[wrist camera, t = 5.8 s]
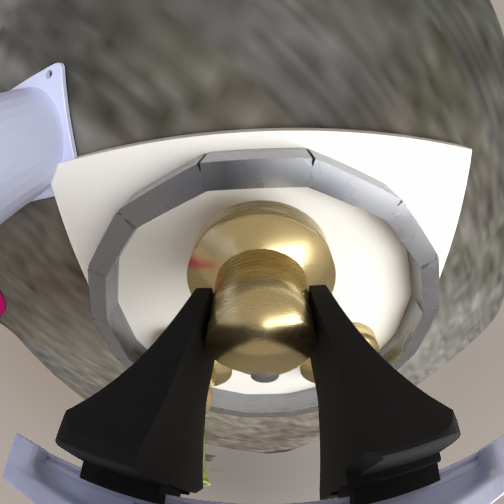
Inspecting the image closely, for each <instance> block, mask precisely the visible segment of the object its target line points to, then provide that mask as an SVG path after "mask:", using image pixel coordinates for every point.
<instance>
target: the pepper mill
mask: <svg viewBox="0 0 504 504" xmlns="http://www.w3.org/2000/svg"><path fill="white" fill-rule="evenodd" d="M5 309H6V305H5V300H4V298H3V296H2V294H1V292H0V317H1V315H2V314H3V313H4V311H5Z"/></svg>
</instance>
